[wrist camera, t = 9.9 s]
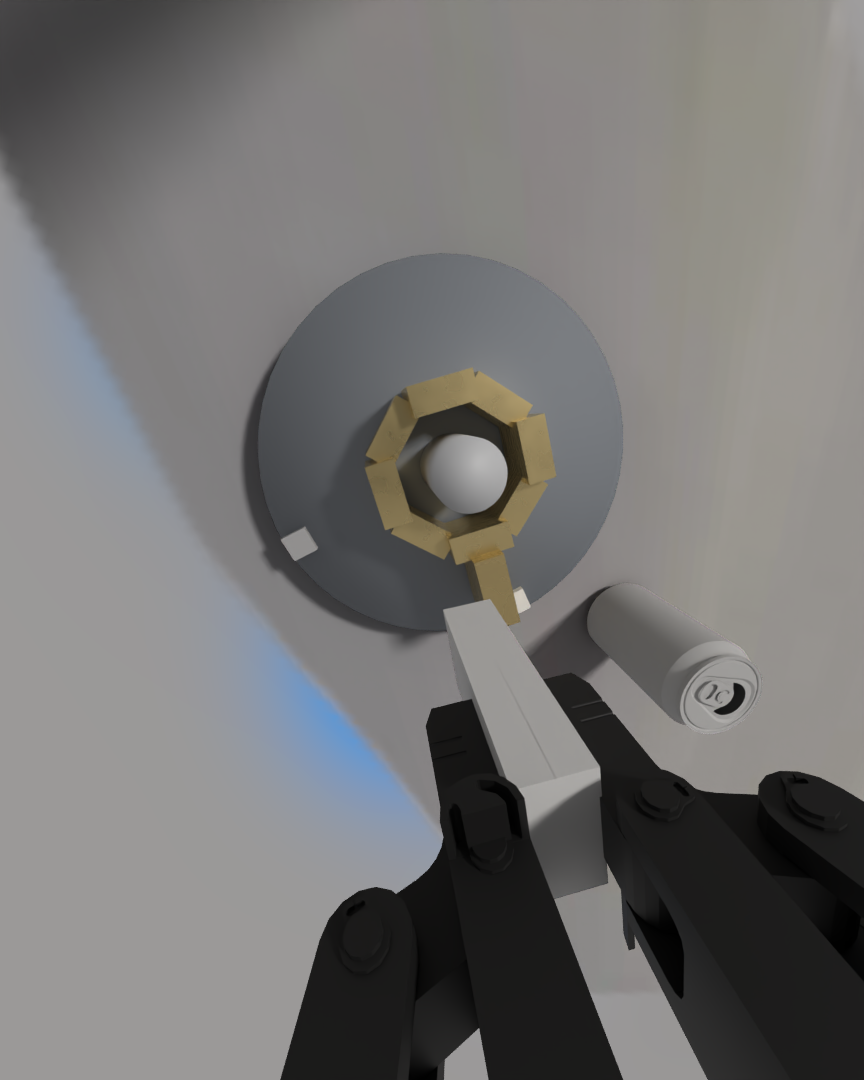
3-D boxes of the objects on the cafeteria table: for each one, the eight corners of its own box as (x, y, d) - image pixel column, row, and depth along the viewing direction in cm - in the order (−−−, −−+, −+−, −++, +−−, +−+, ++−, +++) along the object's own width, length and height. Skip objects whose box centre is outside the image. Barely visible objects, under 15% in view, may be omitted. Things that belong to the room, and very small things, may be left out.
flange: (537, 192, 28) (601, 107, 20) (647, 530, 36) (722, 560, 28) (185, 374, 28) (116, 358, 20) (375, 670, 36) (376, 738, 28)
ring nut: (347, 406, 28) (342, 404, 23) (510, 358, 28) (539, 346, 23) (416, 618, 32) (425, 653, 28) (554, 573, 33) (585, 600, 28)
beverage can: (624, 654, 39) (730, 752, 28) (569, 630, 37) (656, 723, 26) (662, 595, 38) (789, 672, 26) (607, 568, 36) (716, 637, 25)
